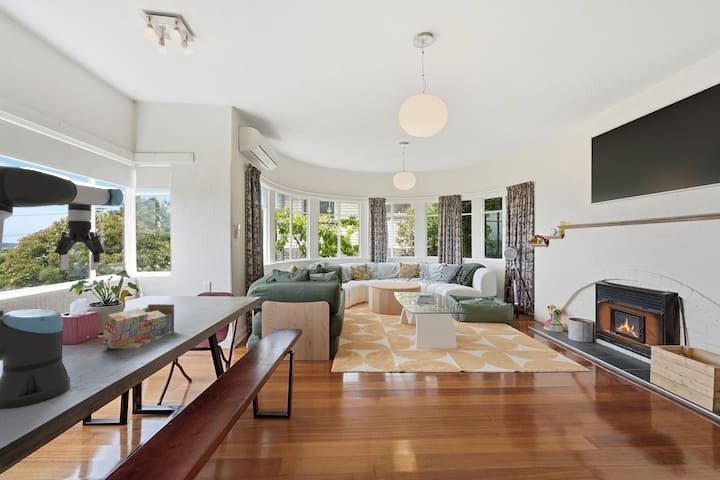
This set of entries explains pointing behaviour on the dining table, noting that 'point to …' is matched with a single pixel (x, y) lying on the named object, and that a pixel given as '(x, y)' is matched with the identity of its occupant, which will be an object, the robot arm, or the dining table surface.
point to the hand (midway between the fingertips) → (79, 270)
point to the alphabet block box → (168, 328)
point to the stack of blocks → (132, 327)
